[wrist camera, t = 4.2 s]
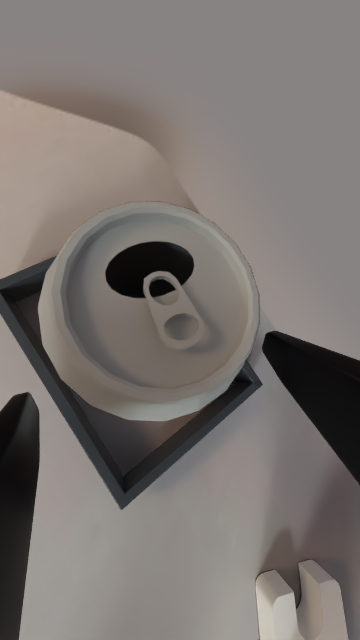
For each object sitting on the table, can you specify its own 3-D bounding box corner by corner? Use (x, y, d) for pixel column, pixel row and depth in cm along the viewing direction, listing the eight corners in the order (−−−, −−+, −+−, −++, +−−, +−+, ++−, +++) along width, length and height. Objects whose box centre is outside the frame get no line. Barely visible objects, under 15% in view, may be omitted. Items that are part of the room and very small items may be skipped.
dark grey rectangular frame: (245, 383, 20) (263, 384, 17) (120, 490, 15) (121, 510, 13) (145, 234, 20) (149, 215, 18) (2, 299, 16) (-18, 286, 14)
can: (162, 287, 20) (225, 164, 8) (196, 372, 19) (320, 364, 7) (67, 315, 17) (-23, 196, 6) (101, 415, 16) (72, 499, 5)
